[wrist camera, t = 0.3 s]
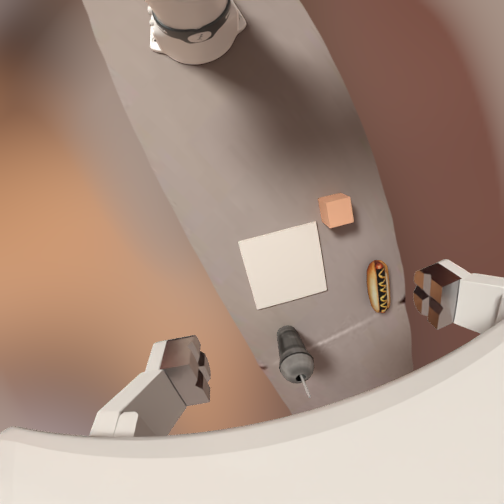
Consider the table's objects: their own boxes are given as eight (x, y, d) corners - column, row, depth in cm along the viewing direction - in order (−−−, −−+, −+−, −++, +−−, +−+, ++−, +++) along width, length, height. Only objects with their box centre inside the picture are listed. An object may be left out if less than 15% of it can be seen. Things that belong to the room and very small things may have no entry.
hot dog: (366, 308, 66) (375, 318, 61) (360, 260, 61) (370, 269, 57) (383, 301, 66) (392, 311, 61) (379, 254, 61) (389, 262, 57)
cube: (317, 198, 56) (325, 202, 51) (340, 192, 56) (350, 197, 51) (322, 221, 57) (330, 228, 53) (344, 216, 57) (353, 222, 53)
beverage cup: (288, 315, 64) (310, 375, 46) (307, 332, 66) (332, 391, 48) (264, 333, 65) (278, 396, 47) (284, 349, 68) (301, 410, 49)
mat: (238, 241, 57) (238, 242, 57) (315, 221, 57) (315, 222, 56) (257, 308, 63) (257, 309, 62) (326, 288, 63) (326, 290, 62)
